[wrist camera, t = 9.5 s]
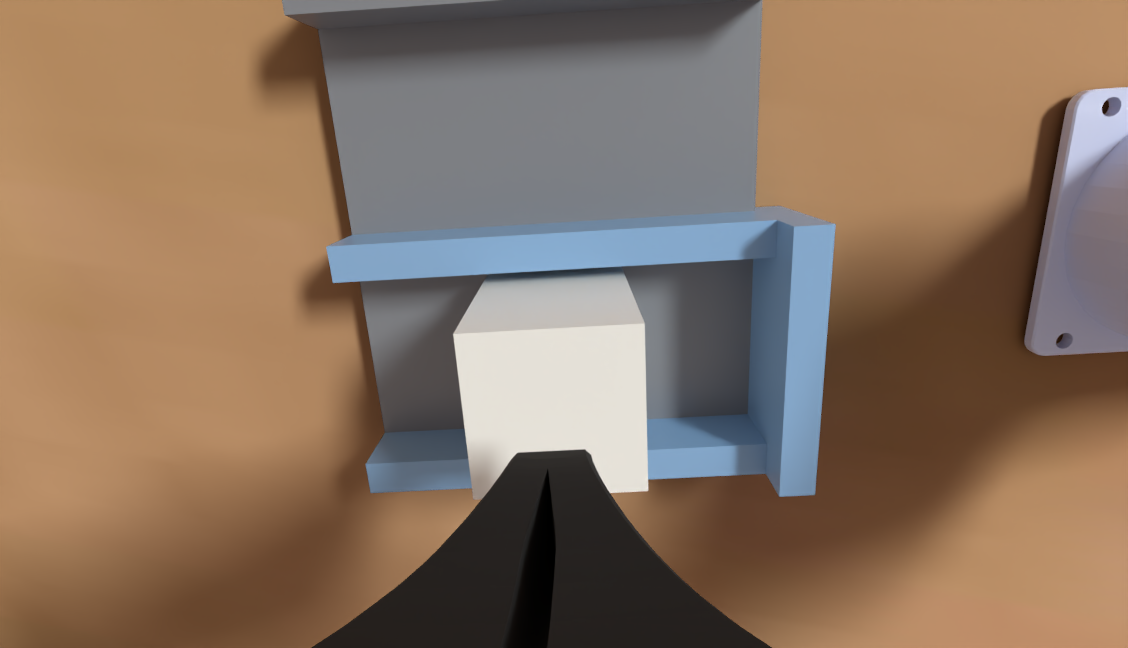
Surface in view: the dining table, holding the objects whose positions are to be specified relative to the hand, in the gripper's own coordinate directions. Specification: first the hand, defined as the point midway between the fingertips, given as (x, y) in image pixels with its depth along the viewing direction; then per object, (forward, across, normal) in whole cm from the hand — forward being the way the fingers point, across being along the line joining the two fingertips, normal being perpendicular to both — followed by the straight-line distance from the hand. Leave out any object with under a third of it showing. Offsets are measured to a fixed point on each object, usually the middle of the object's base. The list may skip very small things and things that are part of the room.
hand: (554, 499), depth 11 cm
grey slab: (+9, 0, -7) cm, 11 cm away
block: (+8, 0, 0) cm, 9 cm away
